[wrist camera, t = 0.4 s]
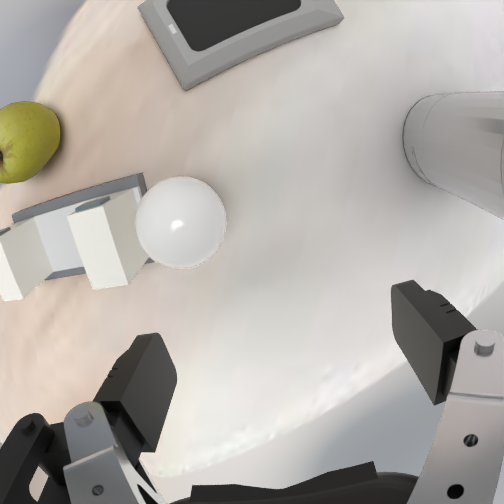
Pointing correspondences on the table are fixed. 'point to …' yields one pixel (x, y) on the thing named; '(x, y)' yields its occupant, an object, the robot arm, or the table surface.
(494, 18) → the table surface
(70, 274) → the rail board
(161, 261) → the lightbulb
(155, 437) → the robot arm
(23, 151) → the apple
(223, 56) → the grey flat block
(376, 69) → the table surface
